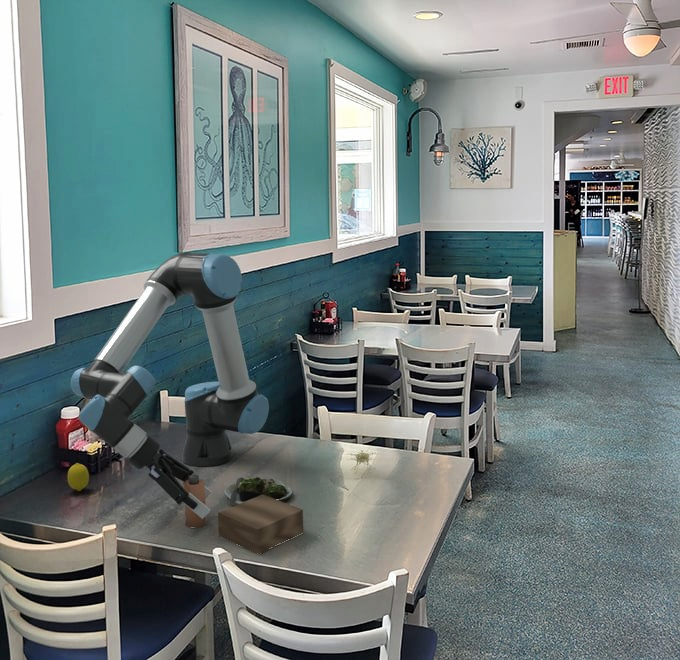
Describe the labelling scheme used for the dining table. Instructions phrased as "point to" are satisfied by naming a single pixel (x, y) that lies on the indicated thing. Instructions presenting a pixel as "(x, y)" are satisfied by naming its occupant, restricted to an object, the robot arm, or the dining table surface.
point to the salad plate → (257, 490)
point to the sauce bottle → (197, 490)
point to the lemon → (78, 477)
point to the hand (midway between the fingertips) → (207, 504)
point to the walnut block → (260, 523)
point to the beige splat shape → (362, 458)
